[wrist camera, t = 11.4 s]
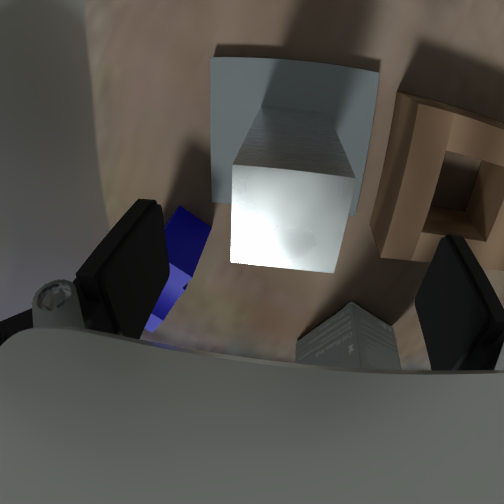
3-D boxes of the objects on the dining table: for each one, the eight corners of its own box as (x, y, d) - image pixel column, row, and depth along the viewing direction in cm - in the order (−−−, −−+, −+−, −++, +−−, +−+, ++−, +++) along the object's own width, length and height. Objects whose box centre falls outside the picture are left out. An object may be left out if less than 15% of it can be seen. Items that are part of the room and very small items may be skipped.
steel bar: (327, 112, 18) (355, 178, 10) (319, 172, 20) (333, 273, 12) (261, 105, 18) (232, 164, 10) (257, 165, 21) (230, 262, 13)
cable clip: (161, 310, 32) (142, 357, 27) (123, 286, 31) (99, 332, 26) (227, 237, 26) (211, 290, 21) (180, 204, 24) (152, 251, 19)
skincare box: (351, 297, 28) (367, 476, 15) (398, 329, 29) (422, 481, 17) (290, 342, 32) (278, 495, 20) (339, 367, 34) (340, 503, 22)
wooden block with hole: (558, 147, 16) (587, 168, 13) (521, 246, 22) (541, 275, 19) (396, 91, 17) (418, 103, 14) (369, 224, 23) (380, 257, 20)
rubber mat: (376, 71, 17) (379, 72, 16) (353, 210, 23) (354, 215, 22) (213, 56, 17) (210, 57, 17) (214, 196, 23) (211, 202, 23)
